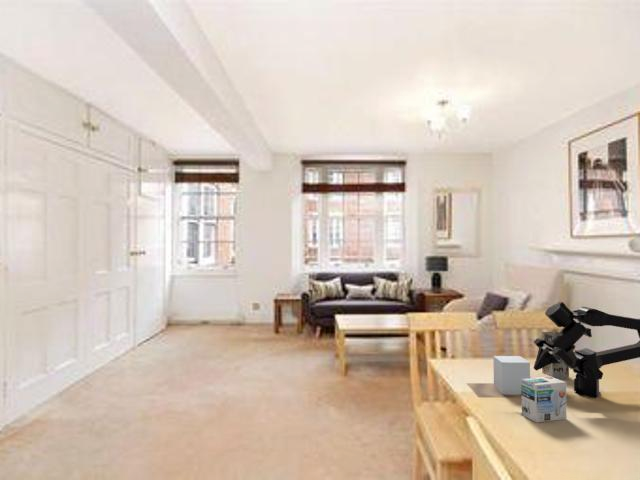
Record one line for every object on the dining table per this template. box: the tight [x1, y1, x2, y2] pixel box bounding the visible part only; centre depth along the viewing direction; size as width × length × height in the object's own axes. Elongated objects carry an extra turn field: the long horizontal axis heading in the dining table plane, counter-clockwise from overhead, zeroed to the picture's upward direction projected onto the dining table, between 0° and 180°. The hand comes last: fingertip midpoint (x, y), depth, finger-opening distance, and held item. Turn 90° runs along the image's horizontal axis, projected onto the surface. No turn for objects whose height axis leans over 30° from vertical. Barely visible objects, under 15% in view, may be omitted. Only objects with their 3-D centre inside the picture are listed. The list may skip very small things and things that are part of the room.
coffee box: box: [540, 331, 570, 380], centre depth 178 cm, size 9×6×16 cm
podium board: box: [466, 382, 522, 399], centre depth 156 cm, size 20×15×1 cm
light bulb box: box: [521, 375, 567, 423], centre depth 135 cm, size 11×7×11 cm, turn 105°
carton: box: [492, 355, 531, 395], centre depth 156 cm, size 9×9×10 cm
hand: (534, 369), depth 156 cm, fingers closed
